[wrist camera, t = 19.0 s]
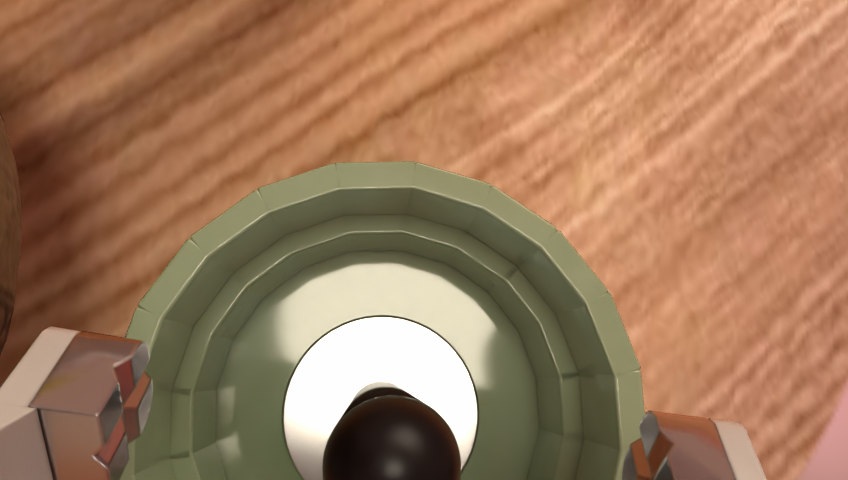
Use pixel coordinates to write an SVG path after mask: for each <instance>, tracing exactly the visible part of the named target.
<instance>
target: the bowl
mask: <svg viewBox="0 0 848 480" xmlns="http://www.w3.org/2000/svg"><path fill="white" fill-rule="evenodd" d="M373 315H392V316H398V317H404V318H407V319H411V320H414V321H417V322H419V323H421V324H423V325H426V326H428V327H429V328H431V329H433V330H434V331H436V332H437V333H439V334H440V335H441V336H442V337H444V338H445V339H446V340H447V341H448V342H449V343H450V344H451V345H452V346H453V347H454V348H455V349H456V350H457V352H458V353H459V354H460V356H461V357H462V359H463V360H464V362H465V363H466V365H467V367H468V369H469V371H470V373H471V376H472V378H473V381H474V383H475V387H476V391H477V395H478V402H479V428H478V435H477V439H476V443H475V447H474V450H473V452H472V455H471V457H470V459H469V462H468V463H467V465H466V467H465V469H464V470H463V472H462V474H461V478H460V480H622V470H623V463H624V457H625V455H626V452H627V450H628V447H629V445H630V444H631V443H632V442H634V441H636V440H637V439H639V438H641V434H640V430H639V424H640V422H641V420H642V418H643V416H644V415H645V410H644V399H643V388H642V377H641V371H640V370H639V369H640V368H641V367H640V364H639V362H638V359H637V357H636V354H635V352H634V350H633V347H632V345H631V342H630V340H629V337H628V335H627V332H626V330H625V327H624V325H623V322H622V320H621V318H620V315H619V313H618V310H617V308H616V305H615V303H614V300H613V298H612V295H611V293H610V292H608V290H607V288H606V287H605V286H604V284H603V283H602V282H601V281H600V279H599V278H598V277H597V276H596V275H595V273H594V272H593V271H592V270H591V268H590V267H589V266H588V265H587V263H586V262H585V261H584V260H583V259H582V257H581V256H580V255H579V254H578V252H577V251H576V250H575V249H574V247H573V246H572V245H571V244H570V243H569V241H568V240H567V239H566V238H565V236H564V235H563V234H562V233H561V231H559V230H557V228H556V227H555V226H553V225H552V224H550V223H549V222H547V221H546V220H544V219H543V218H541V217H540V216H538V215H537V214H535V213H534V212H532V211H531V210H529V209H528V208H526V207H525V206H523V205H522V204H520V203H519V202H517V201H516V200H514V199H513V198H512V197H510V196H509V195H507V194H506V193H504V192H503V191H501V190H500V189H498V188H497V187H495V186H491V184H489V183H487V182H483V181H480V180H476V179H473V178H470V177H466V176H463V175H459V174H456V173H453V172H449V171H446V170H442V169H439V168H436V167H432V166H429V165H425V164H422V163H419V162H416V163H415V162H414V161H404V162H341V163H332V164H329V165H326V166H323V167H320V168H317V169H314V170H311V171H308V172H305V173H302V174H299V175H296V176H293V177H290V178H287V179H284V180H281V181H278V182H275V183H271V184H268V185H265V186H262V187H259V188H258V190H255V191H253V192H252V193H250V194H249V195H247V196H246V197H245V198H243V199H242V200H240V201H239V202H238V203H236V204H235V205H233V206H232V207H231V208H229V209H228V210H226V211H225V212H224V213H222V214H221V215H219V216H218V217H217V218H215V219H214V220H212V221H211V222H210V223H208V224H207V225H205V226H204V227H203V228H201V229H200V230H198V231H197V232H195V233H194V234H193V235H191V237H190V239H188V240H186V242H185V243H184V244H183V246H182V247H181V248H180V250H179V251H178V252H177V253H176V255H175V256H174V257H173V259H172V260H171V261H170V263H169V264H168V265H167V267H166V268H165V269H164V271H163V272H162V273H161V274H160V276H159V277H158V278H157V280H156V281H155V282H154V284H153V285H152V286H151V288H150V289H149V290H148V292H147V293H146V294H145V295H144V297H143V298H142V299H141V301H140V302H139V304H138V307H137V308H136V309H135V311H134V314H133V317H132V319H131V322H130V325H129V328H128V330H127V333H126V336H125V338H129V339H135V340H141V341H144V342H146V343H148V347H149V354H150V360H149V362H148V364H147V366H146V368H145V371H146V372H147V373H148V375H149V376H150V377H151V378H152V382H153V398H152V405H151V409H150V413H149V416H148V420H147V423H146V425H145V427H144V429H143V432H142V434H141V436H140V437H138V438H137V439H135V440H134V441H132V442H131V443H129V444H128V450H129V458H130V459H129V461H128V463H127V465H126V468H125V470H124V472H123V474H122V476H121V478H120V480H302V479H301V477H300V476H299V474H298V473H297V471H296V470H295V468H294V466H293V464H292V462H291V460H290V458H289V455H288V452H287V449H286V446H285V443H284V438H283V433H282V419H281V417H282V404H283V398H284V393H285V390H286V387H287V383H288V380H289V378H290V376H291V374H292V372H293V370H294V367H295V366H296V364H297V363H298V361H299V360H300V358H301V356H302V355H303V354H304V353H305V352H306V350H307V349H308V348H309V347H310V346H311V345H312V344H313V343H314V342H315V341H316V340H317V339H318V338H319V337H321V336H322V335H324V334H325V333H326V332H328V331H329V330H331V329H332V328H334V327H336V326H338V325H340V324H342V323H345V322H347V321H350V320H353V319H356V318H361V317H365V316H373Z"/></svg>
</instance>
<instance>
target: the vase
mask: <svg viewBox="0 0 848 480" xmlns="http://www.w3.org/2000/svg"><path fill="white" fill-rule="evenodd" d="M21 229H22V202H21V195H20V187H19V179H18V172H17V167H16V162H15V157H14V153H13V150H12V147H11V143H10V140H9V137H8V134H7V130H6V127H5V124H4V121H3V119H2V116H1V114H0V354H1V352H2V349H3V347H4V344H5V341H6V338H7V334H8V330H9V326H10V322H11V318H12V314H13V310H14V302H15V292H16V282H17V271H18V265H19V259H20V252H21Z"/></svg>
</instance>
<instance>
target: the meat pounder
mask: <svg viewBox="0 0 848 480" xmlns="http://www.w3.org/2000/svg"><path fill="white" fill-rule="evenodd" d="M281 419H282V433H283V438H284V443H285V446H286V449H287V452H288V455H289V458H290V460H291V462H292V464H293V466H294V468H295V470H296V471H297V473H298V474H299V476H300V477H301V479H302V480H460V478H461V474H462V472H463V470H464V469H465V467H466V465H467V463H468V462H469V459H470V457H471V455H472V452H473V450H474V447H475V443H476V439H477V435H478V428H479V402H478V395H477V391H476V387H475V383H474V381H473V378H472V376H471V373H470V371H469V369H468V367H467V365H466V363H465V362H464V360H463V359H462V357H461V356H460V354H459V353H458V352H457V350H456V349H455V348H454V347H453V346H452V345H451V344H450V343H449V342H448V341H447V340H446V339H445V338H444V337H442V336H441V335H440V334H439V333H437V332H436V331H434V330H433V329H431V328H429V327H428V326H426V325H423V324H421V323H419V322H417V321H414V320H411V319H407V318H404V317H398V316H392V315H373V316H365V317H361V318H356V319H353V320H350V321H347V322H345V323H342V324H340V325H338V326H336V327H334V328H332V329H331V330H329V331H328V332H326V333H325V334H324V335H322V336H321V337H319V338H318V339H317V340H316V341H315V342H314V343H313V344H312V345H311V346H310V347H309V348H308V349H307V350H306V352H305V353H304V354H303V355H302V356H301V358H300V360H299V361H298V363H297V364H296V366H295V367H294V370H293V372H292V374H291V376H290V378H289V380H288V383H287V387H286V390H285V393H284V398H283V404H282V417H281Z"/></svg>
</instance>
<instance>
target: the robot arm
mask: <svg viewBox="0 0 848 480" xmlns="http://www.w3.org/2000/svg"><path fill="white" fill-rule="evenodd" d="M149 360H150V354H149V347H148V343H146V342H144V341H141V340H135V339H129V338H123V337H116V336H110V335H104V334H98V333H92V332H86V331H76V330H70V329H64V328H58V327H52V326H50V327H48V328H47V329H45V330H43V331H42V332H41V333H40V334H39V335H38V337H37V338H36V339H35V341H34V342H33V344H32V345H31V346H30V348H29V349H28V350H27V352H26V353H25V354H24V356H23V357H22V358H21V360H20V361H19V363H18V364H17V365H16V367H15V368H14V369H13V371H12V372H11V373H10V375H9V376H8V377H7V379H6V380H5V382H4V383H3V384H2V386H1V387H0V480H120V478H121V476H122V474H123V472H124V470H125V468H126V465H127V463H128V461H129V459H130V458H129V450H128V444H129V443H131V442H132V441H134V440H135V439H137V438H138V437H140V436H141V434H142V432H143V429H144V427H145V425H146V423H147V420H148V416H149V413H150V409H151V405H152V398H153V382H152V378H151V377H150V376H149V375H148V373H147V372H146V371H145V368H146V366H147V364H148V362H149ZM639 430H640V434H641V438H639V439H637V440H636V441H634V442H632V443H631V444H630V445H629V447H628V450H627V452H626V455H625V457H624V463H623V470H622V480H767V478H766V476H765V473H764V471H763V469H762V466H761V464H760V462H759V459H758V457H757V455H756V452H755V450H754V447H753V445H752V443H751V440H750V438H749V436H748V433H747V431H746V429H745V427H744V426H743V425H742V424H741V423H740V422H733V421H726V420H718V419H707V418H703V417H695V416H687V415H679V414H671V413H664V412H656V411H648V412H647V413H646V414H645V415H644V416H643V418H642V420H641V422H640V424H639Z"/></svg>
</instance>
